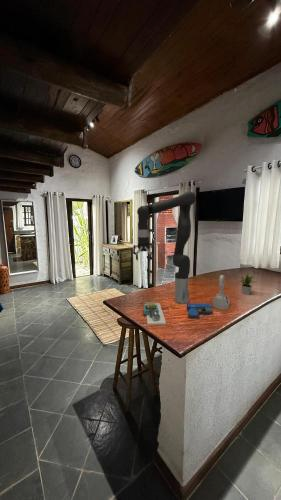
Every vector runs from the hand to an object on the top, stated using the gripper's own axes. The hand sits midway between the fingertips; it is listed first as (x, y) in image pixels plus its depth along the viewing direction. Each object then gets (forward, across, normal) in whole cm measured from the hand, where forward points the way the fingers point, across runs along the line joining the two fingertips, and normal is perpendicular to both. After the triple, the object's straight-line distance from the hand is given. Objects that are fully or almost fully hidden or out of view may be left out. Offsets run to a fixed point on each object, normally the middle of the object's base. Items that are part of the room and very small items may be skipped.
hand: (143, 260), depth 143 cm
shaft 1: (+29, +3, -10) cm, 31 cm away
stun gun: (+31, +32, -20) cm, 49 cm away
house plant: (+30, +79, +10) cm, 85 cm away
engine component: (+30, +50, -10) cm, 59 cm away
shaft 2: (+29, +4, -26) cm, 40 cm away
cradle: (+29, +3, -18) cm, 35 cm away
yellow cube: (+29, +3, -18) cm, 34 cm away
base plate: (+30, +5, -18) cm, 36 cm away
